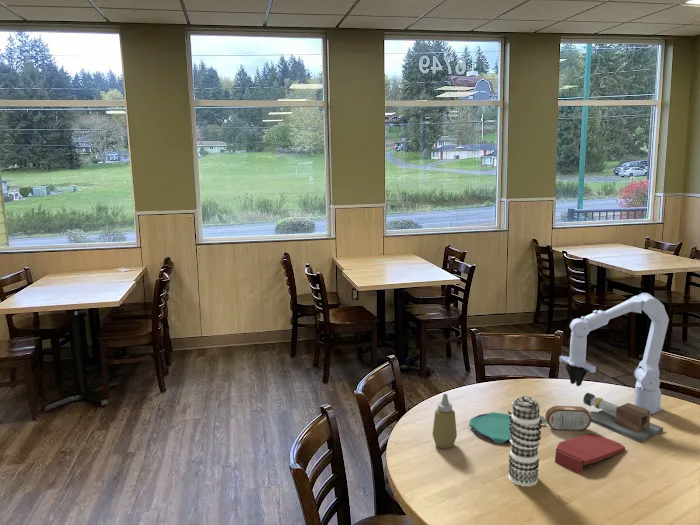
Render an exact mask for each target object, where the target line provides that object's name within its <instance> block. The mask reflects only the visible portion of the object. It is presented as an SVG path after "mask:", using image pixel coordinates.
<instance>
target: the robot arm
mask: <svg viewBox="0 0 700 525" xmlns="http://www.w3.org/2000/svg"><path fill="white" fill-rule="evenodd" d="M642 311H643V312H644V314H646V315H647V316H648V317H649V319H650V320H651V323H650V326H649V332H648V336H647V340H646V345H645V348H644V353H643V358H642V360H641V361H639V363H638V366H637V367H636V368H635V370H634V373H633V376H634V378H635V379H636V383H635V386H634V387H635V388H634V398H633V405H636V406H639V407H642V408H644V409H647V410H650V411H651V412H650V416H651V415H653V414H656V413H657V412H659V411H662V410H663V407H661V404H662V403H661V400H662V390H661V389H660V384H661V379H660V368H659V364H660V363H659V362H660V359H661V354H662V350H663V347H664V344H665V343H664V342H665V339H666V334H667V331H668V326H669V322H670V319H669V316H668V313H667V311H666V309H665V305H664V304H663V303H662V301H660V300H659V299H657V298H656V297H654V296H653V295H651V294H650V293H648V292H642V293H639V294H638V295H634V296H631V297H630V298H629V299H627V300H625V301H623V302H621V303H619V304H616V305H614V306H613V307H611V308H609V309H607V310H601V309H598V310H597V309H595V310H592V313H590V314H587V315H585V316H584V315H582V316H581V317H580V318H578V317H577V318H575V319H574V318H573V319H572V320H571V322H570V324H569V328H570V330H571V332H570V342H569V356H566V355H565V356H564V355H560V356H559V359H558V360H559V362H560V363H565V364H566V365H565V367H564V368H565V370H566V372H567V374H568V376H569V380H570V382H569V383H570V384H571V385H574V384H575V385H576V386H577V387H580V386H582V383H583V381H584V378H585V377H586V375H587V374H588V372H590V373H593V374H594V373H596V371H597V366H595V365H593V364H592V363H589V362H587V361H586V360H587V343H588V341H587V340H588V339H587V338H588V337H587V336H588V335H589V334H590V332H591V331H594V330H597V329H599V328H601V327H604V326H606V325H608V323H609V321H610V320H611V319H615V318H617V317H620V316H622V315H626V314H627V313H631V312H632V313H637V314H642Z"/></svg>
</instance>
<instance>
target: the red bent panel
mask: <svg viewBox="0 0 700 525" xmlns="http://www.w3.org/2000/svg"><path fill="white" fill-rule="evenodd" d="M625 450H626V446H624V445H623V444H622V443H620V442H618V441H615V440H613V439H610V438H607V437H605V436H603V435H599V434H596V433H593V432H592V433H590V432H589V433H585V434H583V435H579V436H576V437H573V438H569V439H567V440H563V441H560V442H559V443H558V445H556V449H555V457H554V464H557V465H560V466H561V467H564V468H565V469H568V470H570V471H572V472H575V473H577V474H581V473H582V472H583V470H584V466H585V465H589V464H594V463H597V462H599V461H602V460H604V459H607V458H610V457H613V456H615V455H618V454H621V453H623V452H624V451H625Z"/></svg>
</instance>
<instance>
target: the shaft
mask: <svg viewBox="0 0 700 525" xmlns="http://www.w3.org/2000/svg"><path fill="white" fill-rule="evenodd" d="M582 399H583V400H582V401H583V404H585V405H587V406H589V407H592V406H594V408H595V409H598V410H606V411H608V412H611V413H613V414H616V409H617V407H619V406H620V405H618V404H617V405H616V404H614V403H612V402H609V401H606V400H604V399H603V398H602V397H597V396H595V394H593V393H590V392H587V393H585V394H584V396H583V398H582Z"/></svg>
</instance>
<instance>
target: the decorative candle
mask: <svg viewBox="0 0 700 525" xmlns="http://www.w3.org/2000/svg"><path fill="white" fill-rule="evenodd" d="M511 406H512V411H511V413H512V414H511V415H510V416H509V419H510V423H509V425H510V428H509V430H510V435H509V436H510V441H509V443H510V452H509V455H508V458H509V460H508V462H509V464H508V466H507V467H508V477H509V478H508V477H507V478H508V479H509V481H510V482H511V483H513V484H514V483H515V485H518V486H519V485H521V487H525V486H527V487H533V486H535V485H537V484H538V483H537V482H538V481H539V480H538V479H539V471H540V470H539V465H540V463H539V462H540V458H539V452H538V449H539V448H538V447H540V441H541V438H542V437H541V435H542V431H541V430H542V428H543V426H542V424H543V423H542V420H541V419H540V416H541V415H540V410H541V404H540V403H539V402H538V401H537V400H536V399H535V398H534V397H530V396H526V395H522V396H518V397H516V398H515V399H514V400H512V401H511ZM511 417H512V419H511ZM511 429H512V430H511ZM536 483H537V484H536ZM532 485H533V486H532Z"/></svg>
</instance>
